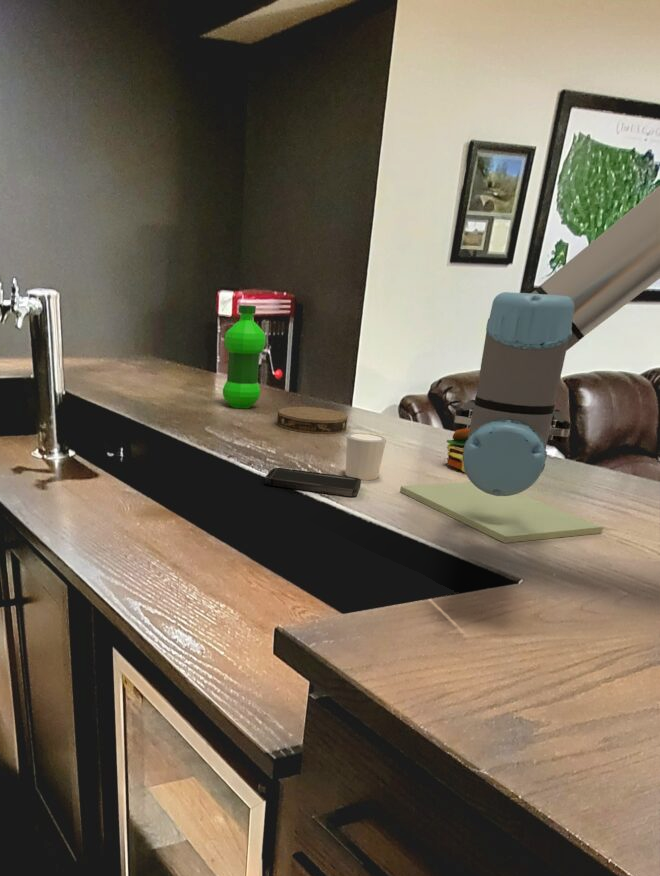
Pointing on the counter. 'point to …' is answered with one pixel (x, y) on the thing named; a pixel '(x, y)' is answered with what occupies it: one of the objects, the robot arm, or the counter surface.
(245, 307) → the plastic bottle
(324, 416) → the brown round disc
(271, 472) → the phone
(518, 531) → the mat
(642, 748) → the counter surface
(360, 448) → the white cup
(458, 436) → the cheeseburger
